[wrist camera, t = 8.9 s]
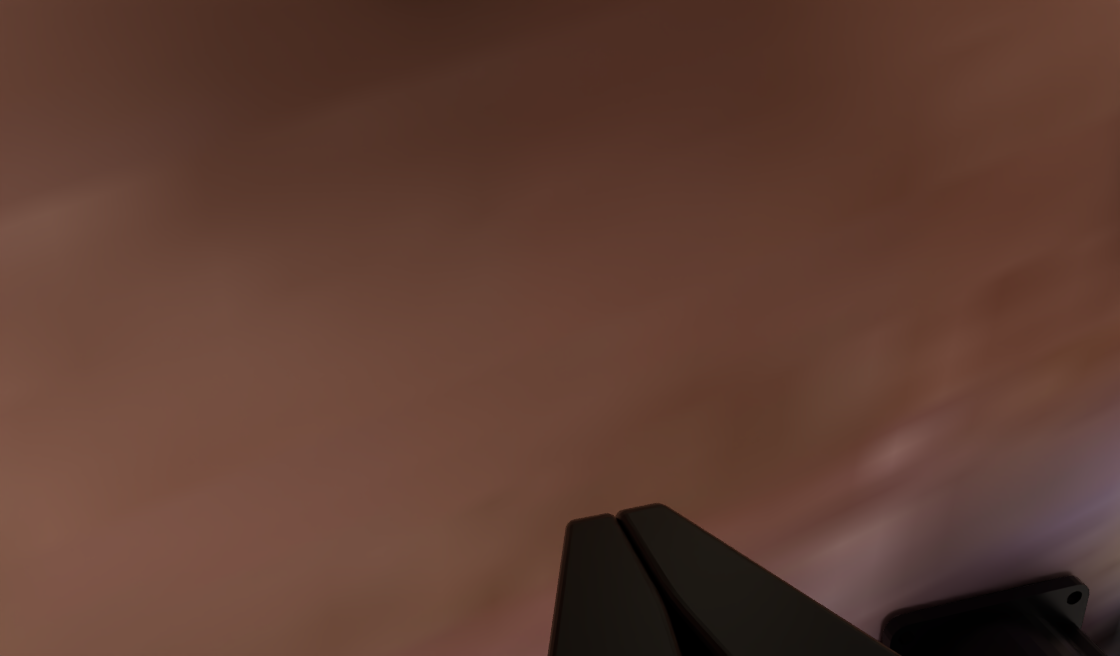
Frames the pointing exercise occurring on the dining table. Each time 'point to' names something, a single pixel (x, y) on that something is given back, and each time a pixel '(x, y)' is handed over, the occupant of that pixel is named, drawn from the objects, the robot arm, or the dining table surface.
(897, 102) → the dining table surface
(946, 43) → the dining table surface
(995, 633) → the robot arm
